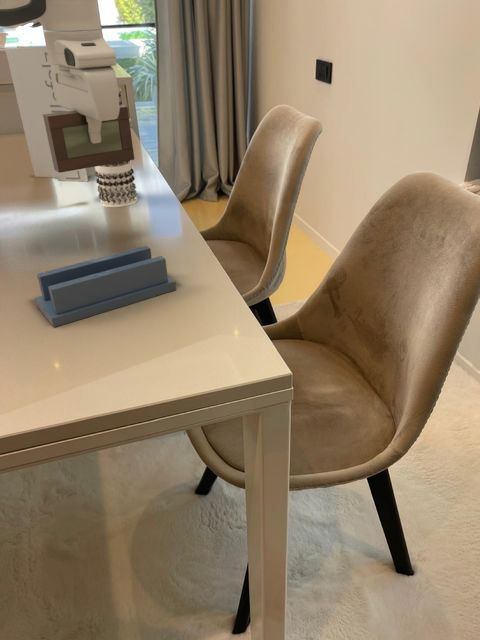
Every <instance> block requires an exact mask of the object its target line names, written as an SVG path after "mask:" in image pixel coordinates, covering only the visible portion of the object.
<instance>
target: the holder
mask: <svg viewBox="0 0 480 640" xmlns="http://www.w3.org/2000/svg"><path fill="white" fill-rule="evenodd" d="M36 277H37V281H38V285H39V289H40V292H41V293H40V294H41V295H40V296H37V297H35V298H34V301H35V305H36V307H37V309H38V310H39V311H40V312H41V313H42V315H43V316H44V318H45V319H46V320H47V321H48V322H49V324H51V326H52V327H53V328H57V327H60V326H64V325H66V324H70V323H73V322H76V321H79V320H83V319H87V318H89V317H92V316H96V315H99V314H102V313H105V312H108V311H113V310H115V309H118V308H122V307H125V306H128V305H131V304H134V303H138V302H141V301H144V300H148V299H151V298H154V297H158V296H160V295H164V294H167V293H170V292H173V291H176V290H177V283H176V280H175V279H173V278H172V277H170V276H169V275H168V269H167V261H166V258H165V257H164V256H162V255H159V256H155V257H152V250H151V247H149V246H148V245H142V246H139V247H135V248H131V249H128V250H124V251H120V252H116V253H112V254H108V255H104V256H101V257H97V258H93V259H89V260H84V261H81V262H76V263H73V264H69V265H66V266H62V267H57V268H54V269H49V270H46V271H42V272H37V273H36Z"/></svg>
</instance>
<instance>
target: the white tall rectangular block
mask: <svg viewBox="0 0 480 640" xmlns="http://www.w3.org/2000/svg"><path fill="white" fill-rule="evenodd" d="M4 50H5V55H6V58H7V63H8V67H9V71H10V76H11V79H12V85H13V88H14V93H15V98H16V101H17V106H18V111H19V114H20V118H21V119H20V120H21V123H22V127H23V132H24V136H25V140H26V144H27V149H28V153H29V158H30V162H31V166H32V170H33V171H32V172H33V174H34V177H35V178H54V179H56V180H57V181H59V182H89V177H96V176H95V172H96V168H95V167H90V168H84V169H78V170H73V171H67V172H61V173H59V172H57V171H55V170H54V165H53V160H52V156H51V151H50V146H49V141H48V137H47V132H46V127H45V122H44V118H43V114H51V113H59V112H67V111H72V110H69V109H67V108H64V107H62V106H59V105H58V104H57V101H56V99H55V95H54V89H53V82H52V75H51V64H50V63H49V58H48V53H47V48H46V45H45V46H43V45H42V46H40V45H39V46H37V45H36V46H33V45H32V46H31V45H27V46H25V45H22V46H20V45H19V46H18V45H17V46H16V47H11V48H9V47H8V48H5V49H4Z"/></svg>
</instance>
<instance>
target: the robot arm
mask: <svg viewBox="0 0 480 640" xmlns="http://www.w3.org/2000/svg"><path fill="white" fill-rule="evenodd" d="M96 6H97V0H0V28H4V29H16V28H17V29H18V28H19V29H21V28H30V29H34V28H38V27H42V33H43V37H44V42H45V46H46V48H47V53H48V58H49V63H50V64H51V75H52V82H53V89H54V95H55V99H56V101H57V104H58V105H59V106H62V107H64V108H67V109H69V110H72V111H76V112H79V113H80V114H82V115H85V116H86V121H87V122H88V132H87V135H88V140H89V141H90V142H92V143H100V142H101V134H100V130H101V124H102V121H107V120H114V119H117V118H118V116H119V111H120V106H119V94H118V88H119V85H118V78H117V74H116V71H115V69H114V67H115V66H117V63H118V62H117V61H118V60H117V55H116V51H115V50H114V49H113V48H112V47H111V46H110V45H109V44H108V42H107V41H106V40H105V38H104V37H103V32H102V26H101V23H100V20H99V18H98V15H97V7H96Z"/></svg>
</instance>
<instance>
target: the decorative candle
mask: <svg viewBox="0 0 480 640" xmlns="http://www.w3.org/2000/svg"><path fill="white" fill-rule="evenodd" d="M118 94H119V105H124V104H123V99H122V98H123V97H122V88H120V87H118ZM134 173H135V170H134V169H133V166H132V160H130V161H124V162H118V163H113V164H107V165H101V166H95V176H94V177H97V178H96V184H98V186H97V192H98V198H99V200H100V201H99V203H100V205H101V206H102V207H106V208H125V207H130V206H133V205H135V204H136V203H137V202H138V198H137V195H138V193H137V190H136V189H137V185H136V183H135V182H134V181H135V180H136V178H135V175H133V174H134Z"/></svg>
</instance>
